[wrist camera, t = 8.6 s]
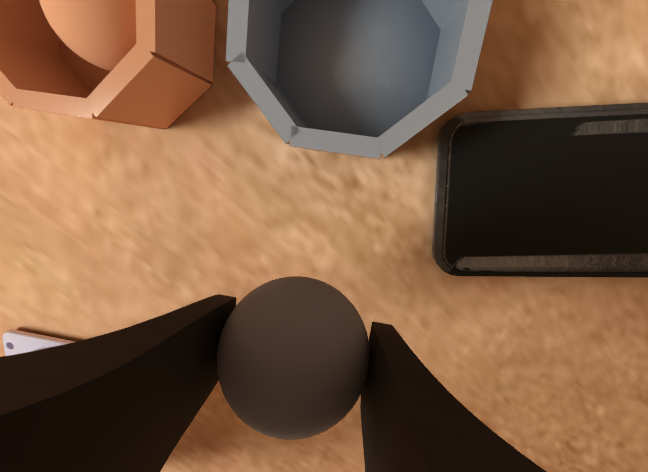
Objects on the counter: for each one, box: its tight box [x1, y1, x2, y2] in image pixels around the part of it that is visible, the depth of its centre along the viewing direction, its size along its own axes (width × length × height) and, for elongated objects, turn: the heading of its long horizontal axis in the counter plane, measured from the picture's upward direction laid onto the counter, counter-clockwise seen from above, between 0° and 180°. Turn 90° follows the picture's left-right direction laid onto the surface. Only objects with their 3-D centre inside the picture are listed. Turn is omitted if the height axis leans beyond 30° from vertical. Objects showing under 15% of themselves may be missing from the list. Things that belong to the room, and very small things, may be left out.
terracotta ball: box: [39, 0, 137, 71], centre depth 12 cm, size 4×4×4 cm
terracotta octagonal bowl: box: [0, 0, 216, 129], centre depth 13 cm, size 8×8×4 cm
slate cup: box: [226, 0, 493, 159], centre depth 12 cm, size 8×8×4 cm
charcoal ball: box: [217, 277, 370, 440], centre depth 9 cm, size 4×4×4 cm
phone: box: [432, 103, 648, 277], centre depth 14 cm, size 8×1×15 cm
